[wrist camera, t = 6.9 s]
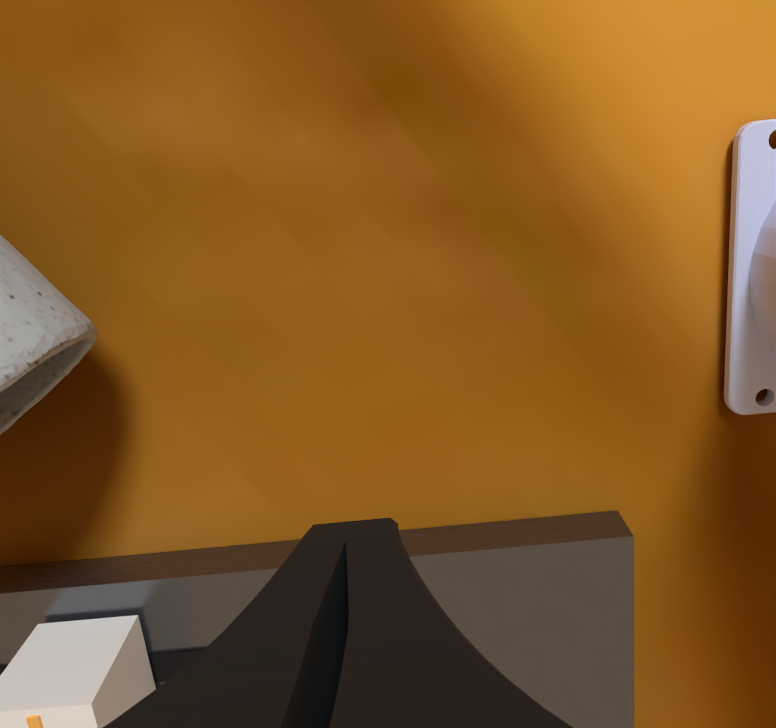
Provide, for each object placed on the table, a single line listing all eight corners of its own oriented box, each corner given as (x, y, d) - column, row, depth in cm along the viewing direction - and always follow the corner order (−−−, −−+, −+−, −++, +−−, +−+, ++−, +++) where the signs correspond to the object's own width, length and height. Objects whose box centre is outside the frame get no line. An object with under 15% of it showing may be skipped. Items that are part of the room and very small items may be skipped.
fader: (138, 614, 21) (89, 707, 18) (164, 724, 22) (123, 830, 19) (37, 623, 21) (-30, 717, 18) (69, 732, 22) (11, 839, 19)
